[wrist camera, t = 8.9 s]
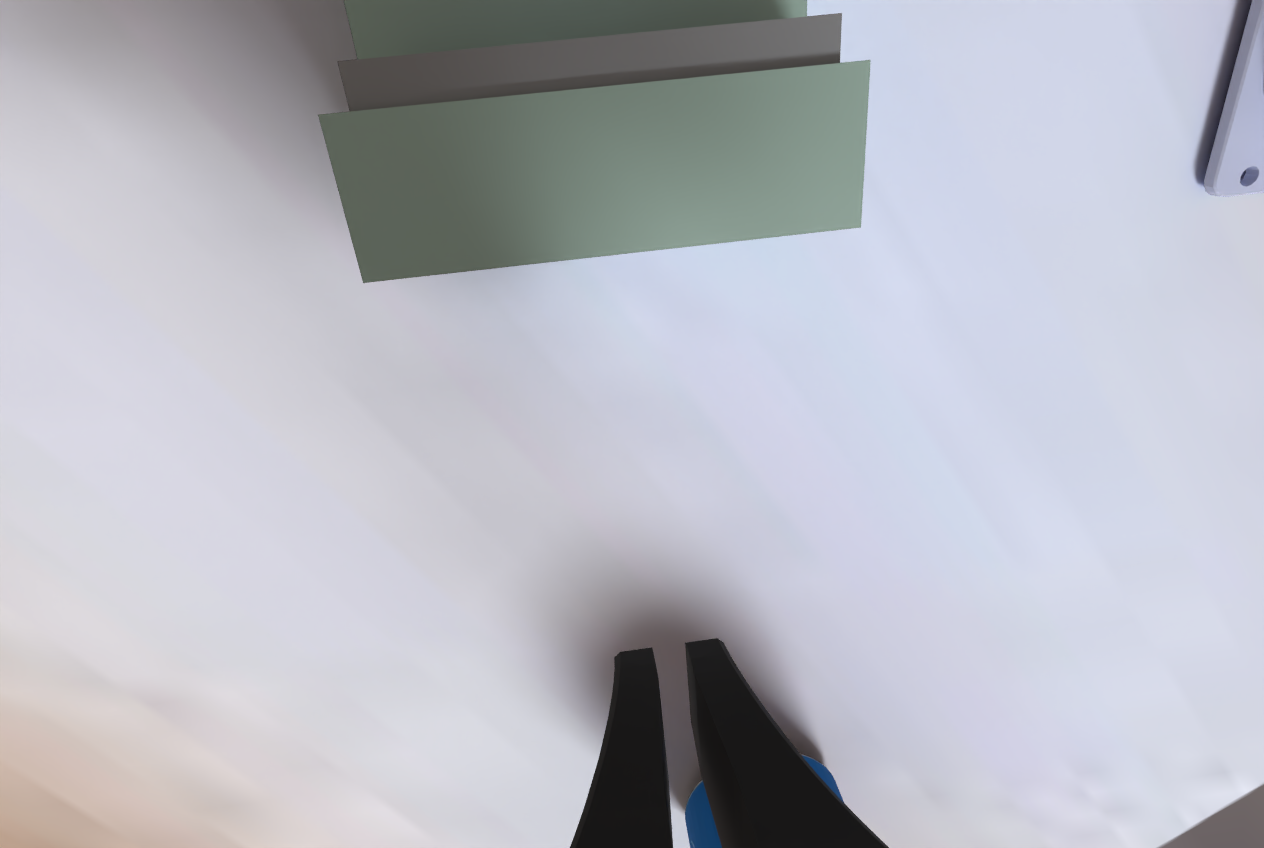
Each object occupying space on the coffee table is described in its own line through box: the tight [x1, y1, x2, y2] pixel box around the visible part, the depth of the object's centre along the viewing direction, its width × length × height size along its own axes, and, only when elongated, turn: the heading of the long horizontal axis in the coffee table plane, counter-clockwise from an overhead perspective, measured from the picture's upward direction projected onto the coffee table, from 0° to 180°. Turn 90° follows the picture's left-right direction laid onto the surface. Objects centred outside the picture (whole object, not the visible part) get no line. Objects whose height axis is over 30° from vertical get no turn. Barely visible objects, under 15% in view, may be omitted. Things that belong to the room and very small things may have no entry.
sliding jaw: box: [318, 13, 870, 283], centre depth 14 cm, size 10×4×4 cm, turn 95°
